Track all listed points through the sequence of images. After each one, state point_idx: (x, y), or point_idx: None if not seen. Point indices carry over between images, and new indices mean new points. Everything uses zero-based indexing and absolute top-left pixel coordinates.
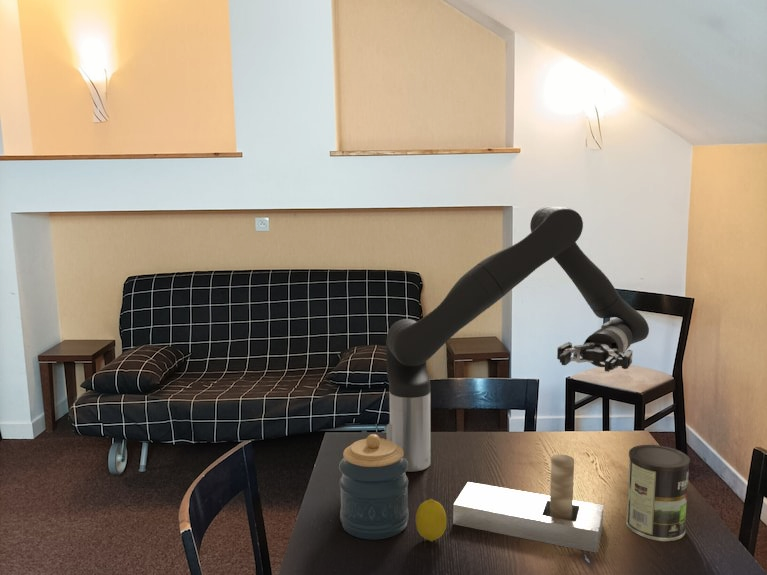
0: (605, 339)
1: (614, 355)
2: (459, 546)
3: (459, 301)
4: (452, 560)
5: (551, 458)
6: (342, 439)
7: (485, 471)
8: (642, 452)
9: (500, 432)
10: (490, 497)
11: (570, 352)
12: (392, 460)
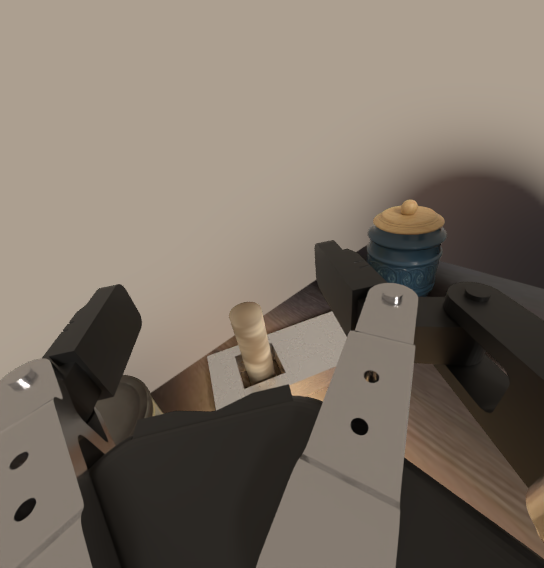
0: None
1: (29, 366)
2: (319, 305)
3: None
4: (308, 293)
5: (258, 305)
6: None
7: (486, 460)
8: (121, 422)
9: None
10: (340, 334)
11: (351, 294)
12: (375, 221)
